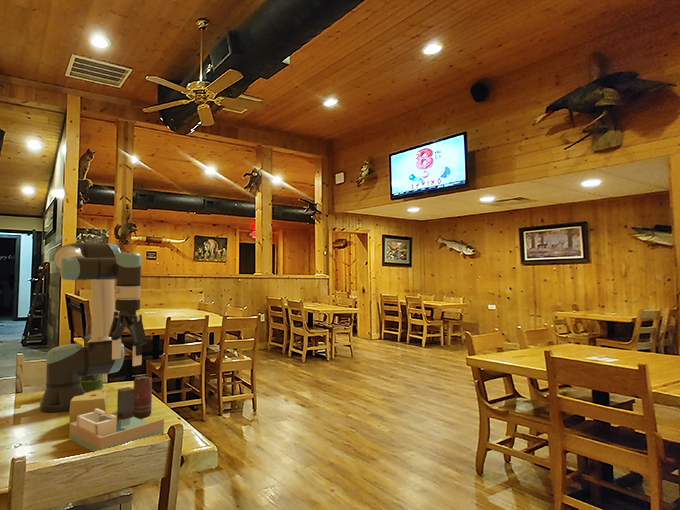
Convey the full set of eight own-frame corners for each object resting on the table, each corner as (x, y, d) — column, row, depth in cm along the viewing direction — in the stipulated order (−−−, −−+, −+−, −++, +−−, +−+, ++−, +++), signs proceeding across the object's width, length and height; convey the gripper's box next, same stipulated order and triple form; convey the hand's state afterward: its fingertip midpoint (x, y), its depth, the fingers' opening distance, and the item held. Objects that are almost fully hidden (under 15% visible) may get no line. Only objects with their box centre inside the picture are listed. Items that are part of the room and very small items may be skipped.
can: (145, 418, 158) (145, 379, 158) (129, 417, 159) (130, 378, 160) (155, 413, 164) (156, 375, 164) (140, 412, 165) (141, 374, 166)
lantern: (109, 388, 196) (111, 320, 197) (84, 393, 188) (86, 323, 189) (94, 383, 205) (95, 318, 205) (69, 388, 196) (71, 320, 197)
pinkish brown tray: (69, 439, 139) (69, 423, 139) (131, 421, 155) (131, 407, 155) (100, 455, 127) (100, 438, 127) (163, 434, 143) (163, 419, 143)
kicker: (105, 428, 141) (106, 390, 142) (124, 423, 146) (125, 386, 147) (116, 433, 137) (117, 394, 138) (136, 427, 142) (136, 389, 143)
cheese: (73, 421, 155) (74, 392, 155) (108, 417, 159) (108, 389, 159) (68, 431, 145) (69, 401, 145) (105, 427, 149) (105, 397, 150)
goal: (76, 435, 137) (77, 413, 137) (96, 429, 142) (97, 408, 142) (95, 445, 130) (96, 421, 130) (116, 438, 135) (116, 416, 135)
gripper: (98, 296, 152) (97, 358, 152) (136, 302, 137) (134, 370, 137) (120, 295, 158) (119, 354, 158) (158, 300, 143) (157, 366, 143)
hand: (126, 362), depth 148 cm, fingers open, 13 cm apart
